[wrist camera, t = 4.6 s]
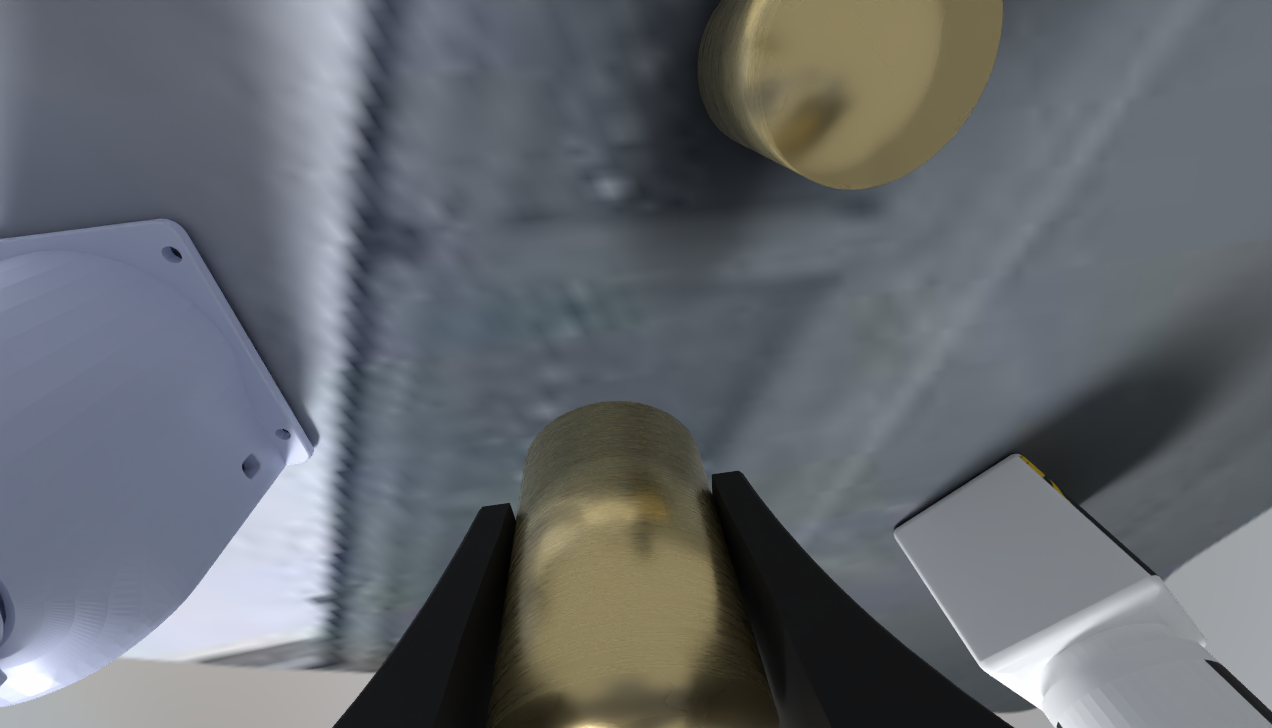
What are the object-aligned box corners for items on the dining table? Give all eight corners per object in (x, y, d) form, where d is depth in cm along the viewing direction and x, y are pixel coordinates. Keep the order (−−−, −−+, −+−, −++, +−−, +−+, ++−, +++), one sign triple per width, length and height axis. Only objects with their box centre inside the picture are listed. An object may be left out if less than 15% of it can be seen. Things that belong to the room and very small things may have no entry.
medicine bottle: (1069, 512, 26) (1376, 794, 16) (950, 580, 29) (1153, 865, 19) (1015, 447, 24) (1348, 743, 13) (887, 529, 26) (1087, 835, 16)
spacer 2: (841, 138, 16) (968, 175, 10) (700, 156, 15) (758, 203, 10) (860, -45, 13) (1036, -113, 8) (693, -25, 13) (765, -82, 8)
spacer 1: (702, 520, 14) (772, 786, 9) (543, 542, 14) (520, 826, 9) (697, 388, 12) (788, 647, 6) (504, 415, 11) (442, 700, 6)
